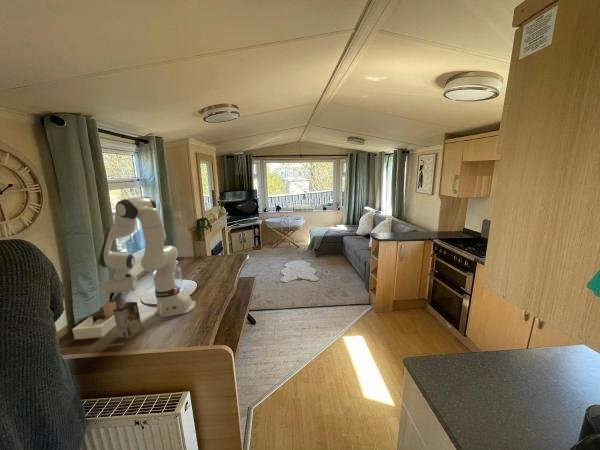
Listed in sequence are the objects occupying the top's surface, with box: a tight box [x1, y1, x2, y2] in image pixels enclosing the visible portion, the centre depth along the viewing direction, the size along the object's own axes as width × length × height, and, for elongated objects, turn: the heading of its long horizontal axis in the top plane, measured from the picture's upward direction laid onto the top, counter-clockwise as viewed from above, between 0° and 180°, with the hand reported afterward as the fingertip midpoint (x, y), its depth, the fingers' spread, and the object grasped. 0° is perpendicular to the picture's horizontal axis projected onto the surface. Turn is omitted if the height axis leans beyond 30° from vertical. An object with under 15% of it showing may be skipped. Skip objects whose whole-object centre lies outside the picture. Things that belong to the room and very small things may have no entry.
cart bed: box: [71, 315, 117, 340], centre depth 142 cm, size 14×13×6 cm
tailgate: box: [93, 318, 109, 324], centre depth 152 cm, size 14×1×5 cm
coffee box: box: [113, 301, 143, 340], centre depth 138 cm, size 9×6×16 cm
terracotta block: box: [102, 301, 118, 319], centre depth 157 cm, size 4×4×9 cm
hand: (114, 298), depth 162 cm, fingers open, 8 cm apart
